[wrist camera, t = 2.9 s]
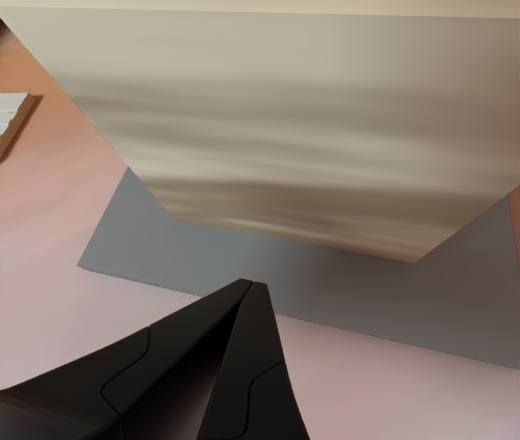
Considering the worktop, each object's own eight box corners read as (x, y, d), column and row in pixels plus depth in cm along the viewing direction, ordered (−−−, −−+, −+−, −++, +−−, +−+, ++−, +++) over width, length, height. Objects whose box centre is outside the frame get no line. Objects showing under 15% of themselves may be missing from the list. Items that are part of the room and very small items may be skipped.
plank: (414, 263, 15) (738, 23, 4) (175, 220, 17) (-10, 5, 7) (414, 213, 16) (663, -71, 5) (190, 181, 19) (55, -55, 8)
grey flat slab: (518, 369, 13) (558, 371, 11) (87, 270, 18) (62, 259, 16) (479, 81, 21) (498, 53, 19) (190, 63, 26) (182, 39, 24)
